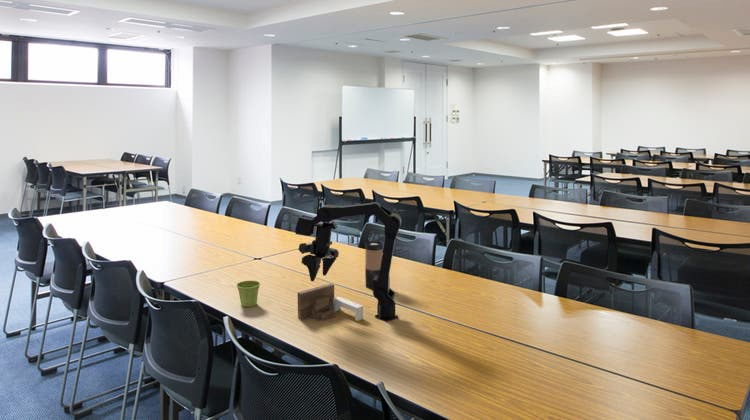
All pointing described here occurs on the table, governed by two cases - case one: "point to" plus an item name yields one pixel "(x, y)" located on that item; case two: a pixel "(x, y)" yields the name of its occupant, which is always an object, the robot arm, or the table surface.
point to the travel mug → (372, 261)
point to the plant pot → (248, 292)
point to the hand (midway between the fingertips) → (318, 278)
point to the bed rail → (348, 307)
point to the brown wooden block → (316, 303)
